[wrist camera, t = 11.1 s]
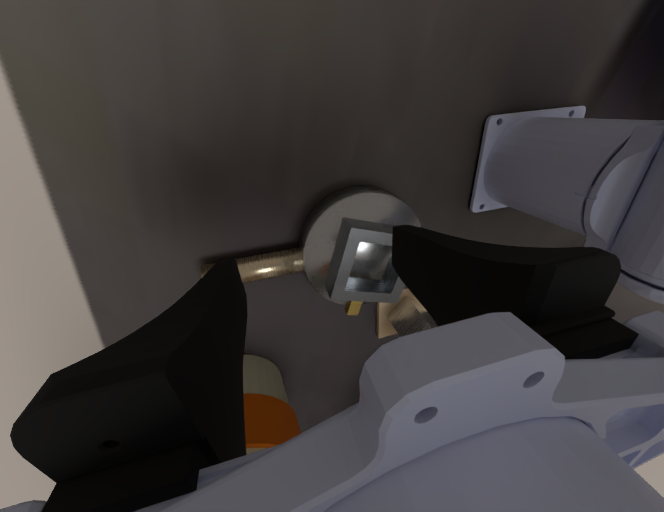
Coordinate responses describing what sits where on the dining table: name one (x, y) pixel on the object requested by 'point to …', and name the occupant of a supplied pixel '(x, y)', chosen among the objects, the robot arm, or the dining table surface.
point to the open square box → (342, 263)
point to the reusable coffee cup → (266, 406)
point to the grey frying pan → (332, 239)
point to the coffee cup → (630, 304)
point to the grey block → (410, 317)
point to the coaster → (383, 311)
